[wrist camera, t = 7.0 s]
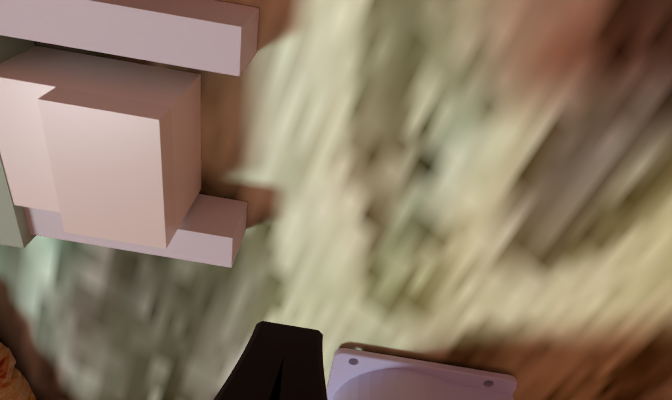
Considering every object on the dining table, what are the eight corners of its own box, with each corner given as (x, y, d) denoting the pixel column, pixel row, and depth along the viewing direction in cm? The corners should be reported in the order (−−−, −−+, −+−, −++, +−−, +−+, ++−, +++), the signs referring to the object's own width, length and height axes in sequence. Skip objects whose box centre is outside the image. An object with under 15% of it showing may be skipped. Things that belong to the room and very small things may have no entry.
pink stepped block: (202, 72, 18) (158, 120, 14) (202, 186, 21) (166, 249, 17) (38, 44, 18) (-45, 85, 14) (61, 162, 21) (-4, 220, 17)
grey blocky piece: (259, -2, 16) (222, 35, 12) (245, 235, 22) (216, 311, 18) (-137, -72, 16) (-300, -56, 12) (-49, 186, 21) (-142, 253, 18)
